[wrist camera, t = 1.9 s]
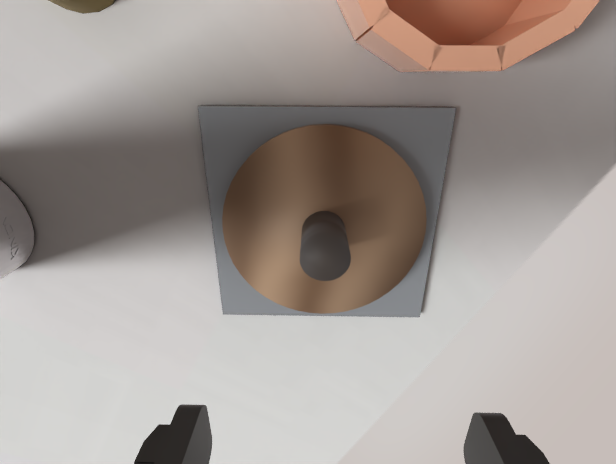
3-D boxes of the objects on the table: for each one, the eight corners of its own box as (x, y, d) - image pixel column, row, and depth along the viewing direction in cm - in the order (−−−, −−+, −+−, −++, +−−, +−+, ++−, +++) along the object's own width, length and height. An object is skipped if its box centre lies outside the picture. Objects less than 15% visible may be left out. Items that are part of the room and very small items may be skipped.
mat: (224, 310, 28) (222, 314, 28) (200, 105, 22) (197, 106, 21) (418, 313, 28) (419, 317, 28) (453, 107, 22) (456, 107, 21)
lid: (234, 304, 28) (218, 349, 23) (215, 123, 22) (189, 135, 17) (409, 306, 27) (428, 352, 23) (436, 124, 22) (469, 136, 17)
